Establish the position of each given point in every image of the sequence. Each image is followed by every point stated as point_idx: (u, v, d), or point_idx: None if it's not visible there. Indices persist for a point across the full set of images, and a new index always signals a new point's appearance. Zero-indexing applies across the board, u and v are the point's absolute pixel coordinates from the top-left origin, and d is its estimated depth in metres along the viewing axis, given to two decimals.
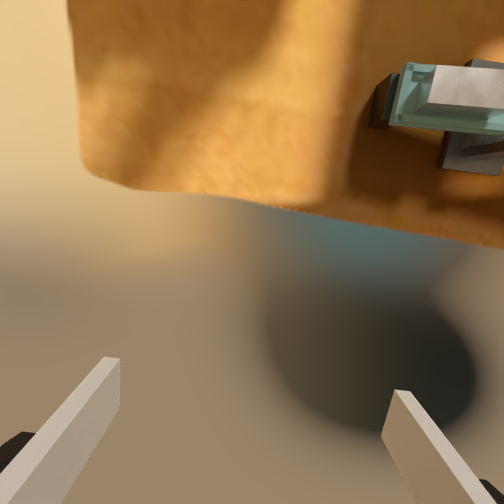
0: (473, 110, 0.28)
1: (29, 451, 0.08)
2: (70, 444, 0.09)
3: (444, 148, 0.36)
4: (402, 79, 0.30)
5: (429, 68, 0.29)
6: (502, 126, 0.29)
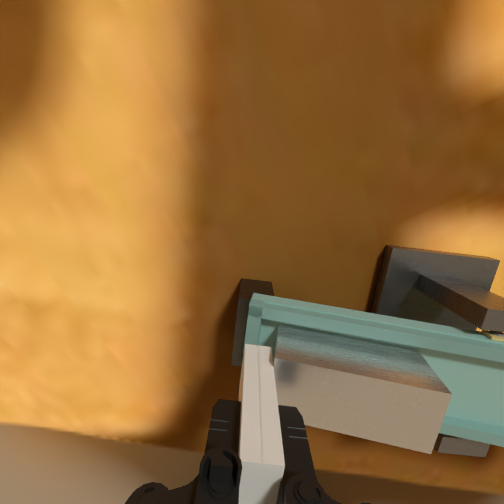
0: None
1: (248, 410, 0.10)
2: None
3: None
4: (247, 325, 0.16)
5: (289, 317, 0.15)
6: None
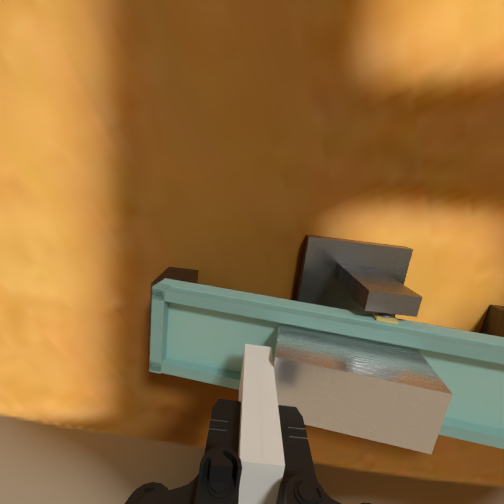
0: None
1: (248, 410, 0.10)
2: None
3: None
4: None
5: (189, 300, 0.16)
6: None
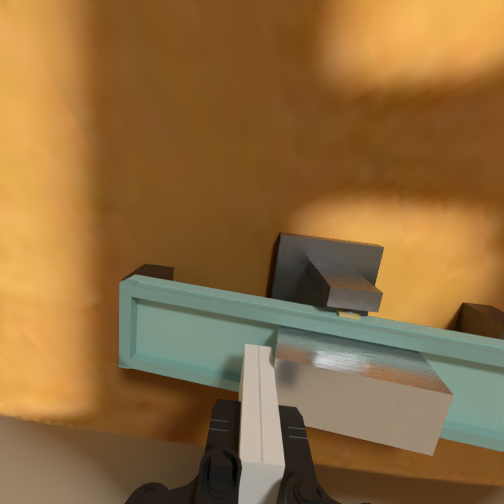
0: None
1: (248, 410, 0.10)
2: None
3: None
4: None
5: (156, 296, 0.16)
6: None
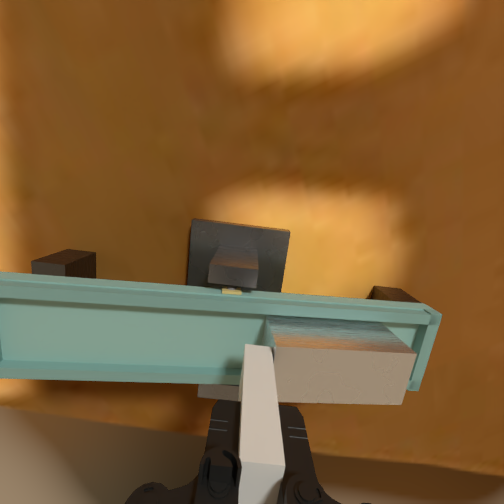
0: None
1: (248, 410, 0.10)
2: None
3: None
4: None
5: (17, 292, 0.14)
6: (178, 377, 0.17)
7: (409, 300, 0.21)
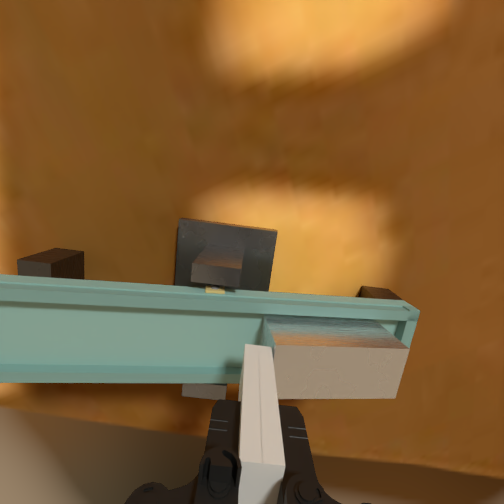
0: None
1: (248, 410, 0.10)
2: None
3: None
4: None
5: None
6: (162, 377, 0.17)
7: None
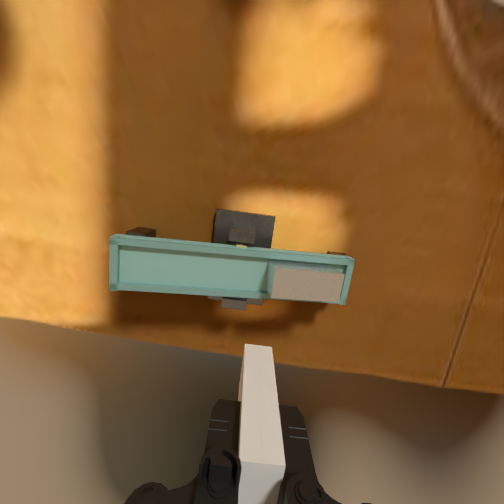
0: None
1: (248, 410, 0.10)
2: None
3: None
4: None
5: (134, 243, 0.28)
6: (212, 292, 0.31)
7: None
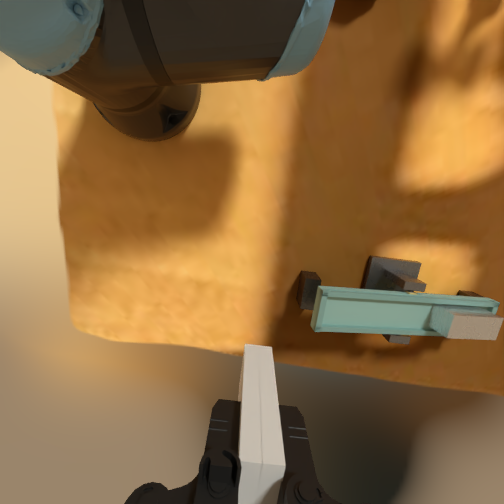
0: None
1: (248, 410, 0.10)
2: None
3: None
4: (320, 300, 0.35)
5: (339, 294, 0.35)
6: (389, 331, 0.38)
7: None
